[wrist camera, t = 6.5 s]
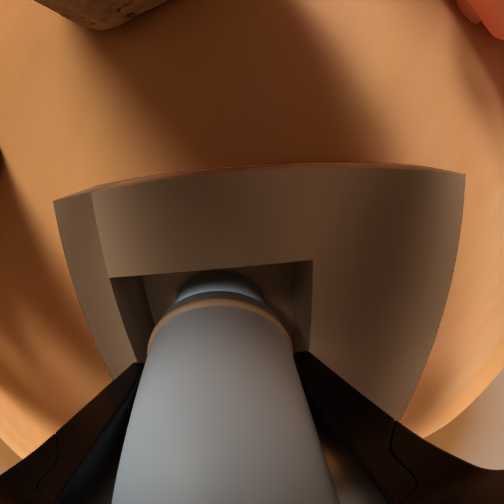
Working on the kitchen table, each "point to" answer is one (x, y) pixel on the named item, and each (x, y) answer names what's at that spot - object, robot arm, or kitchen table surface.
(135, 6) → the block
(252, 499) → the peg
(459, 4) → the teapot
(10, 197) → the kitchen table surface
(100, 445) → the robot arm
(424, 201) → the board
